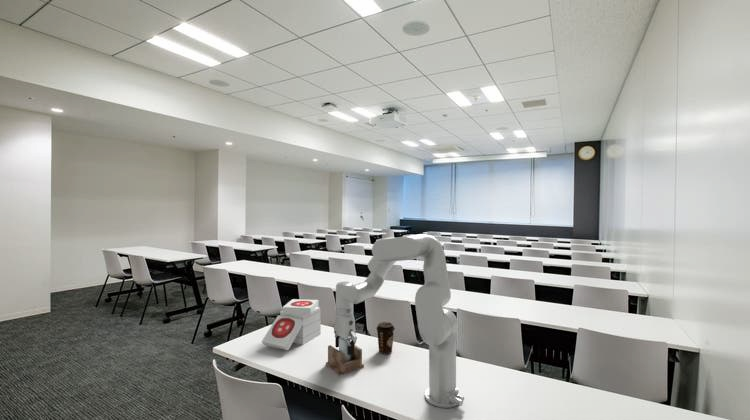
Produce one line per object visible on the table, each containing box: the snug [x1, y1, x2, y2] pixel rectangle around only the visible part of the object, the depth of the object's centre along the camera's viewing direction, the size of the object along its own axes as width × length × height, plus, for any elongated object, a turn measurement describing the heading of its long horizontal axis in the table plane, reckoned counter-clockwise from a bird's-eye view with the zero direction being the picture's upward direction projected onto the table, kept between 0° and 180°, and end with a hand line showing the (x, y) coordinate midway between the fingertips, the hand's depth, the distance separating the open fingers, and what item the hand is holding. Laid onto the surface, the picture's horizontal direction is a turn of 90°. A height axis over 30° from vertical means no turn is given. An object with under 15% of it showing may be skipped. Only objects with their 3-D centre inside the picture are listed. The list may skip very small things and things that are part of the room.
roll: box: [338, 337, 352, 363], centre depth 142 cm, size 5×5×11 cm
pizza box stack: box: [261, 298, 322, 351], centre depth 169 cm, size 19×30×18 cm, turn 154°
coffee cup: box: [376, 321, 396, 355], centre depth 156 cm, size 9×8×13 cm
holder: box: [325, 344, 365, 377], centre depth 142 cm, size 12×12×8 cm
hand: (344, 350), depth 142 cm, fingers open, 9 cm apart
